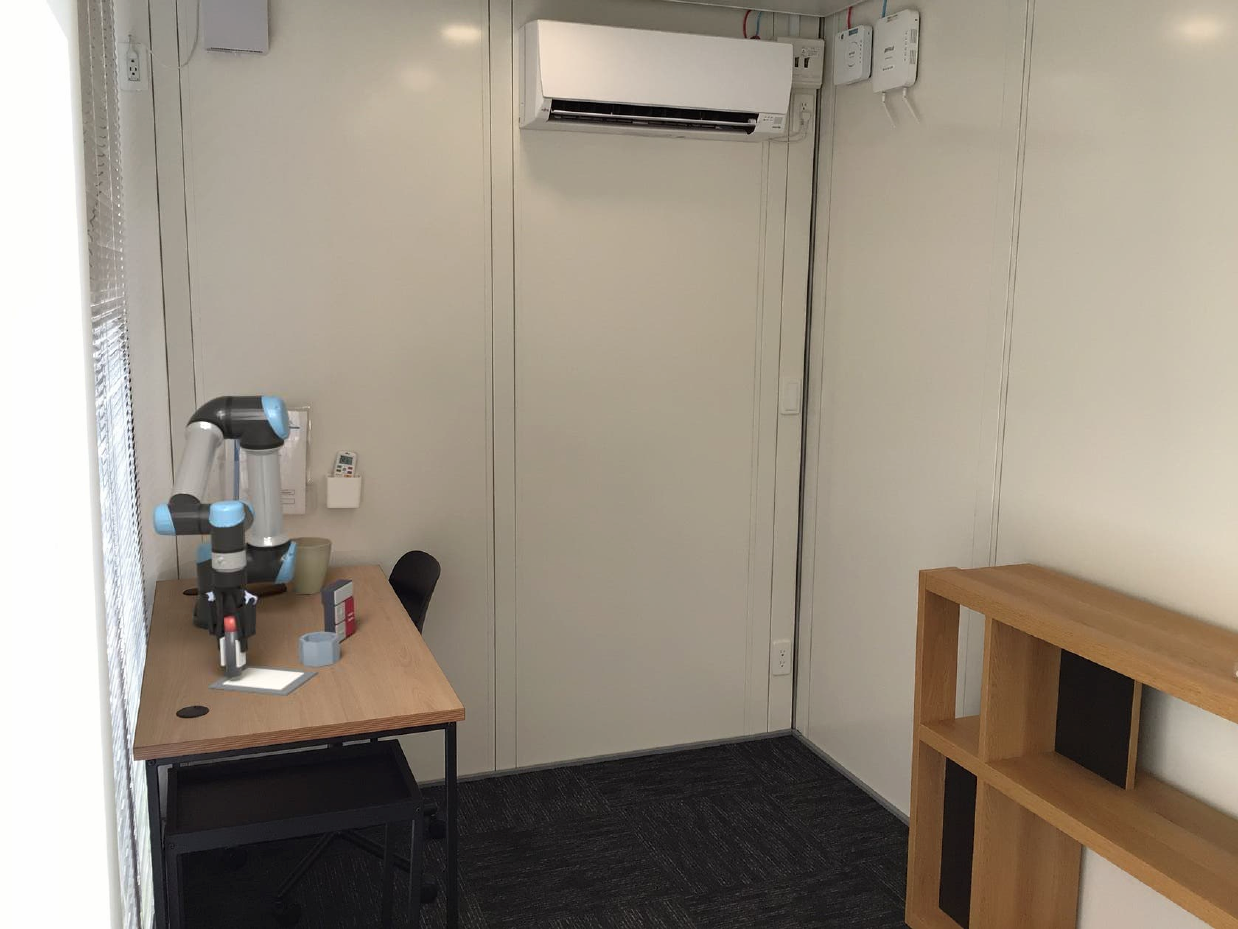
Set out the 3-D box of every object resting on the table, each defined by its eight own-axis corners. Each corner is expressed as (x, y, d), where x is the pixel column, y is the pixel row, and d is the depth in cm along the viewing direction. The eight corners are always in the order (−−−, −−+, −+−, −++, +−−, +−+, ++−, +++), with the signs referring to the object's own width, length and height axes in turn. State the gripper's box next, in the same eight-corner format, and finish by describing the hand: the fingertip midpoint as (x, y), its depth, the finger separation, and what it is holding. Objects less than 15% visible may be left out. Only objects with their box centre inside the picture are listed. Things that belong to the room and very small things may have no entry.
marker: (223, 676, 244) (220, 619, 242) (232, 671, 247) (229, 615, 245) (236, 677, 243) (233, 620, 241) (244, 673, 246) (242, 616, 244)
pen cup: (294, 664, 258) (293, 641, 257) (311, 653, 267) (311, 630, 266) (327, 668, 256) (327, 644, 255) (344, 656, 265) (343, 633, 264)
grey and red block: (337, 645, 273) (336, 590, 270) (322, 644, 273) (320, 589, 271) (356, 632, 283) (354, 579, 281) (341, 631, 284) (340, 578, 282)
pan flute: (208, 610, 303) (287, 594, 321) (207, 599, 302) (287, 584, 320) (173, 593, 320) (249, 578, 338) (172, 582, 320) (249, 568, 337)
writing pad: (208, 688, 242) (208, 685, 242) (243, 666, 256) (243, 664, 256) (286, 695, 238) (286, 693, 238) (318, 673, 252) (317, 671, 252)
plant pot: (316, 600, 313) (314, 549, 310) (273, 595, 317) (271, 545, 314) (342, 587, 327) (341, 538, 325) (301, 583, 331) (299, 534, 329)
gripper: (188, 569, 239) (192, 667, 242) (252, 574, 236) (256, 672, 239) (207, 562, 246) (211, 656, 250) (269, 566, 243) (273, 662, 246)
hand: (233, 664), depth 244 cm, fingers closed on marker, 3 cm apart
